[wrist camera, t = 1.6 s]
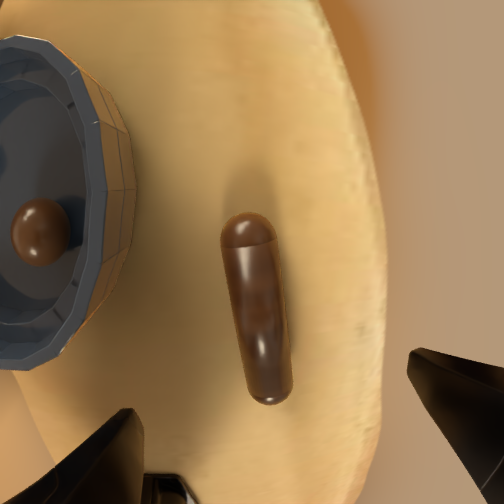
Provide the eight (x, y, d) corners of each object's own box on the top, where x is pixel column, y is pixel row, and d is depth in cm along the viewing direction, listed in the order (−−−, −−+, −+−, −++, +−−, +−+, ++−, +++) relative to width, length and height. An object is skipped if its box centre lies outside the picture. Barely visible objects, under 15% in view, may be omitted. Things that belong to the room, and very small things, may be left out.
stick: (289, 382, 16) (299, 408, 14) (248, 390, 16) (253, 418, 13) (267, 206, 14) (277, 210, 11) (216, 214, 14) (215, 220, 11)
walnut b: (87, 252, 12) (57, 269, 9) (40, 261, 12) (7, 279, 9) (75, 189, 12) (41, 191, 9) (28, 203, 11) (-8, 210, 9)
